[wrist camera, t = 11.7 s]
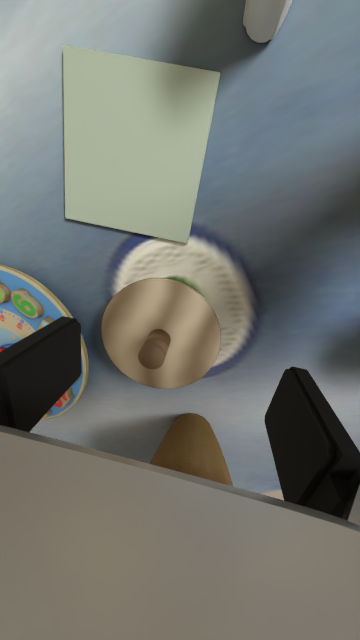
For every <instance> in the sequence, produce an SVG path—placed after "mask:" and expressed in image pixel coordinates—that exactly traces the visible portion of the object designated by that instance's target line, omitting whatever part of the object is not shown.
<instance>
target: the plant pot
mask: <svg viewBox="0 0 360 640" xmlns="http://www.w3.org/2000/svg"><path fill="white" fill-rule="evenodd" d="M150 464H152V465H155V466H159V467H163V468H167V469H170V470H174V471H178V472H182V473H185V474H189V475H193V476H196V477H200V478H204V479H207V480H211V481H215V482H218V483H222V484H226V485H229V486H233V485H232V481H231V477H230V474H229V471H228V468H227V465H226V462H225V459H224V456H223V454H222V451H221V448H220V446H219V443H218V441H217V439H216V437H215V434H214V432H213V430H212V428H211V426H210V424H209V423H208V421H207V420H206V419H205V418H203V417H202V416H200V415H197V414H184V415H181V416H180V417H178V418H177V419H176V420H175V422H174V423H173V424H172V426H171V427H170V429H169V430H168V432H167V433H166V435H165V437H164V438H163V440H162V442H161V444H160V445H159V447H158V449H157V451H156V453H155V455H154V457H153V459H152V461H151V463H150Z"/></svg>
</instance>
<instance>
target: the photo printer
mask: <svg viewBox="0 0 360 640" xmlns="http://www.w3.org/2000/svg"><path fill="white" fill-rule="evenodd" d="M292 1H293V0H246V4H245V10H244V17H243V26H245V27H246V31H247V34H248V35H249V37H250V38H251V39H252V40H253V41H255V42H258V43H264V42H267V41H268V40H269V39H270V40H273V39H274V37H275V35H276V34H277V32H278V30H279V29H280V27H281V25H282V23H283V21H284V19H285V17H286V15H287V12H288V10H289V8H290V6H291V3H292Z"/></svg>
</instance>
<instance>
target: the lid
mask: <svg viewBox="0 0 360 640" xmlns="http://www.w3.org/2000/svg"><path fill="white" fill-rule="evenodd" d="M101 329H102V339H103V343H104V347H105V349H106V351H107V353H108V355H109V357H110V359H111V360H112V361H113V363H114V364H115V365H116V366H117V367H118V368H119V370H120V371H122V372H123V373H124V374H125V375H127V376H128V377H130V378H131V379H133V380H135V381H136V382H139V383H141V384H143V385H146V386H150V387H155V388H163V389H170V388H178V387H183V386H186V385H189V384H191V383H193V382H195V381H197V380H199V379H200V378H201V377H203V376H204V375H205V374H206V373H207V372H208V371H209V370H210V368H211V367H212V366H213V364H214V362H215V361H216V359H217V356H218V353H219V349H220V342H221V336H220V327H219V323H218V319H217V317H216V314H215V312H214V310H213V309H212V307H211V306H210V304H209V303H208V302H207V300H206V299H205V298H204V297H203V296H202V295H201V294H200V293H198V292H197V291H196V290H195V289H193V288H191V287H190V286H188V285H186V284H184V283H181V282H179V281H175V280H172V279H166V278H148V279H143V280H139V281H137V282H134V283H132V284H130V285H128V286H127V287H125V288H123V289H122V290H121V291H120V292H118V293H117V294H116V295H115V296H114V297H113V298H112V300H111V301H110V302H109V304H108V306H107V307H106V310H105V312H104V315H103V319H102V326H101Z"/></svg>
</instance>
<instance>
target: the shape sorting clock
mask: <svg viewBox="0 0 360 640" xmlns="http://www.w3.org/2000/svg"><path fill="white" fill-rule="evenodd" d="M62 316H65V317H70V318H73V317H72V316H71V314H70V313H69V311H68V310H67V309H66V307H65V306H64V305H63V304H62V303H61V302H60V300H59V299H58V298H57V297H56V296H55V295H54V294H53V293H52V292H51V291H50V290H49V289H47V288H46V287H45V286H44V285H43V284H41V283H40V282H38V281H37V280H36V279H34V278H32V277H31V276H29V275H27V274H25V273H23V272H21V271H19V270H16V269H14V268H11V267H8V266H4V265H0V352H1V351H2V350H4V349H6V348H8V347H9V346H11V345H13V344H15V343H16V342H18V341H20V340H22V339H23V338H25V337H27V336H29V335H30V334H32V333H34V332H36V331H37V330H39V329H41V328H43V327H44V326H46V325H48V324H50V323H51V322H53V321H55V320H57V319H58V318H60V317H62ZM84 339H85V337H84V336H83V335H82V334H81V361H82V372H81V375H80V377H79V378H78V379H77V380H76V381H75V383H74V384H73V385H72V386H71V387H70V388H69V389H68V390H67V391H66V392H65V393H64V394H63V396H62V397H61V398H60V399H59V400H58V401H57V402H56V403H55V404H54V405H53V406H52V408H51V409H50V410H49V411H48V412H47V413H46V414H45V415H44V416H43V417H42V418H41V420H44V419H50V418H54V417H57V416H59V415H61V414H63V413H65V412H66V411H68V410H69V409H70V408H71V407H72V406H73V405H74V404H75V403H76V402H77V401H78V400H79V398H80V397H81V395H82V394H83V392H84V389H85V387H86V383H87V379H88V371H89V361H88V353H87V349H86V346H85V343H84Z"/></svg>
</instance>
